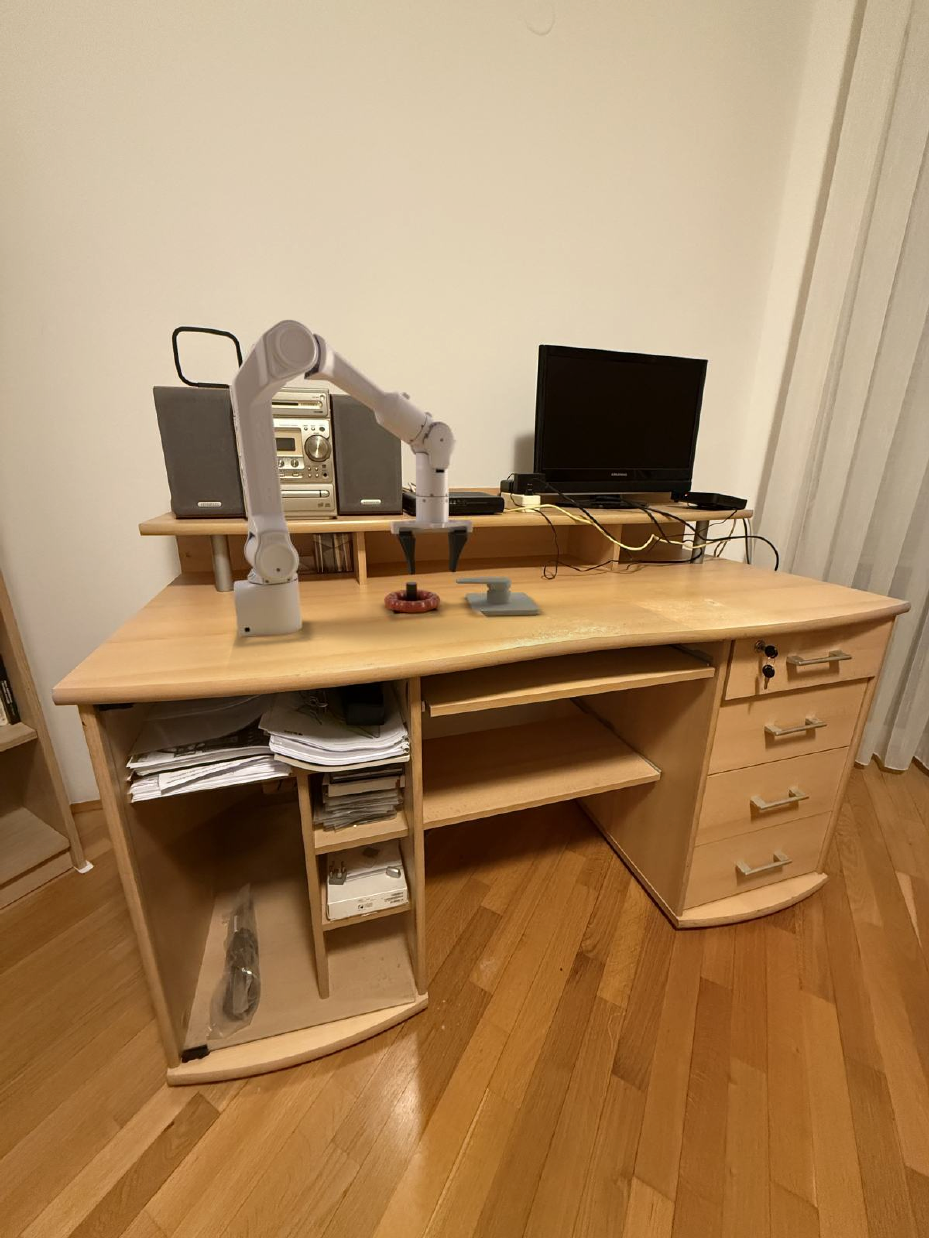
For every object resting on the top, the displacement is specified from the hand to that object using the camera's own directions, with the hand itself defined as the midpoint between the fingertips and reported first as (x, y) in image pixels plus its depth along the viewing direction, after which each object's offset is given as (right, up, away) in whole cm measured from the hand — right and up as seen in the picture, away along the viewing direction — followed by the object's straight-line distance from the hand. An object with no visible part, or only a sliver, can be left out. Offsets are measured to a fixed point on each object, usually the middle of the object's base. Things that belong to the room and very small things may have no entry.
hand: (432, 572), depth 90 cm
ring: (-4, -5, 0) cm, 6 cm away
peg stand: (-4, -7, +1) cm, 8 cm away
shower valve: (+12, -6, +5) cm, 14 cm away
